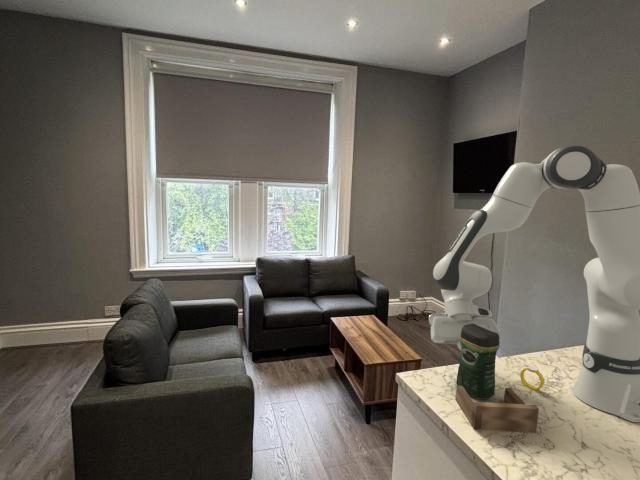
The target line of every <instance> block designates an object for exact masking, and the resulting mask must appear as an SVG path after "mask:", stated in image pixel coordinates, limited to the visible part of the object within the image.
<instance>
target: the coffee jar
mask: <svg viewBox="0 0 640 480" xmlns="http://www.w3.org/2000/svg"><path fill="white" fill-rule="evenodd" d="M460 340H461V350H460V357H459V364H458V368H457V369H458V370H457V373H456V380H455V381H456V383H455V384H456V387H457V386H463V388H464V389H465V390H466V392H467V393H468V395H469V396H470V397H472V398H475V399H476V400H490V399H492V397H494V396H495V394H496V393H495V392H496V356H497V353H498V350H499V348H500V346H501V344H500V343H499V335H498V333H496V332H492V331H490V330H487V329H485V328H483V327H480V326H478V325H476V324H467V325H464V326H463V328H462V331H461V335H460Z"/></svg>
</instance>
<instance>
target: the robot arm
mask: <svg viewBox="0 0 640 480" xmlns="http://www.w3.org/2000/svg"><path fill="white" fill-rule="evenodd" d="M637 182H638V181H637V180H636V177H635V175H634V172H633V170H632V169H631V168H630V167H629V166H627V165H624V164H623V165H622V164H619V163H618V164H617V163H610V164H606V163H605V162H604V161H603V160H602V159H601V158H600V157H599V156H598V155H597V154H596V153H595V152H594V151H593V150H592V149H590V148H589V147H586V146H584V145H581V144H569V145H565V146H562V147H560V148H559V147H558V148H557V149H555V150H553V151H552V152H551V153H550V154H548V156H546V157H545V158H544V159H543V160H542V161H541V160H540V162H538V163H532V162H526V161H522V162H516V163H514V164H512V165H511V166H509V168H508V169H507V170H506V172H505V173H504V175H503V176H502V177H501V179H500V181H499V182H498V184H497V185H496V187H495V190H494V191H493V194H492V195H491V197H490V199H489V200H488V202H487V203H485V205H484V206H483V207H482V208H481V209H479V210H475V211H474V212H473V213H472V214H471V215H470V216H469V217H468V219H467V220H466V221H465V223H464V224H463V226H462V227H461V229H460V230H459V231H458V233H457V234H456V236H455V237H454V239H453V241H452V242H451V244H450V245H449V246H448V248H447V250H446V251H445V253H444V254H443V255H442V256H441V257H440V258H439V259H438V260H437V262H436V263H435V264H434V266H433V268H432V278H433V281H434V283H435V284H436V286H437V287H438V288H439V289H440V291H441V297H442V298H443V301H444V303H443V306H444V313H443V312H441V313H440V312H439V313H437V312H433V313H432V314H429V316H428V324H429V325H430V338H431V341H432V342H433V343H435V344H451V345H457V348H458V349H459V350H460V351H461V340H460V335H461V331H462V328H463V326H464V325H467V324H476V325H478V326H480V327H483V328H485V329H487V330H490V331H492V332H496V333H498V335H499V344H500V343H501V341H502V334H501V331H500V328H499V326H498V324H497V322H496V321H495V320H494V319H493V318H492V317H493V313H492V311H491V310H490V309H487V308H484V307H481V306H478V305H476V304H474V302H473V300H474V299H478V298H480V297H483V296H485V295H487V294H488V293H489V292H490V291H491V290H492V289H493V286H494V275H493V272H492V270H491V269H490V268H489V267H487V266H485V265H482V264H478V263H474V262H469V261H465V259H466V258H467V256H468V255H469V254H470V252H471V250H472V249H473V248H474V246H475V244H476V243H477V242H478V241H479V240H480V239H481V238H483V237H485V236H487V235H490V234H494V233H502V232H503V233H504V232H509V231H513V230H516V229H518V228H520V227H522V225H523V224H524V223H525V222H526V221H527V220H528V218H529V217H530V214H531V213H532V211H533V208H534V207H535V205H536V203H537V200H538V199H539V197H540V196H541V195H542V194H543V193H544V192H545V191H546V190H547V189H559V190H570V189H572V190H573V189H575V190H578V191H579V193H580V194H581V195H582V198H583V200H584V208H585V217H586V223H587V231H588V237H589V241H590V243H591V244H592V246H593V248H594V250H595V252H596V253H597V256H598V257H595V258H593V259H591V260H589V261H588V262H587V263H586V264H585V266H584V269H583V278H584V281H585V282H586V289H587V301H588V309H589V310H588V311H589V312H588V313H589V320H588V329H587V336H586V342H585V343H584V345H583V349H582V356H581V357H582V363H581V367H580V370H579V374H578V376H577V378H576V381H575V383H574V385H573V387H572V388H571V390H572V393H573V394H574V396H575V397H577V399H579V400H580V401H582V402H584V403H585V404H587V405H588V406H591V407H593V408H596V409H597V410H600V411H602V412H606V413H609V414H612V415H615V416H616V417H617V416H618V417H620V418H622V419H625V421H629V422H632V423H640V312H639V310H640V188H639V185H638V183H637Z"/></svg>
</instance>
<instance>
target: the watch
mask: <svg viewBox="0 0 640 480" xmlns="http://www.w3.org/2000/svg"><path fill="white" fill-rule="evenodd" d="M527 370H528V371H529V372H531V373H535V374H536V375H537V376H538V378H539V380H540V381H539V383H540V384H539V386H538V387H535V386H534V385H532V384H529V383H528V382H527V381H526V378H525V371H527ZM519 376H520V381H521V382H522V384H523V385H524V386H525V387H527V388H530V389H532V390H534V391H539V390H541V389H542V388H543V387H544V385H545V379H544V376H543V374H542V373H541V372H540V369H539V368H538V367H536V366H532V365H528V366H527V367H525V368H523V369H521V371H520V375H519Z"/></svg>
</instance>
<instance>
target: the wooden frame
mask: <svg viewBox="0 0 640 480" xmlns="http://www.w3.org/2000/svg"><path fill="white" fill-rule="evenodd" d="M455 401H456V403H457V405H458V406H459V408H460V410H461V411H462V413H463V414H464V416H465V418H466V419H467V421H468V423H469V424H470V425H471V427H472V429H473V431H490V432H491V431H493V432H512V433H514V432H515V433H516V432H517V433H533V434H534V433H535V434H536V433H537V430H538V428H537V427H538V421H539V420H538V419H539V413H540V408H539V407H538V406H537V405H536V404H528V403H525V401H524V400H523V399H522V398H521V397H520V396H519V395H518V394H517V393H516V392H515V391H514V390H513V388H512V387H504V397H503V402H484V401H483V402H482V401H473V399H472V398H471V396H470V395H469V394H468V393H467V392H466V390H465V389H464V388H463V386H457V385H456V390H455Z"/></svg>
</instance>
